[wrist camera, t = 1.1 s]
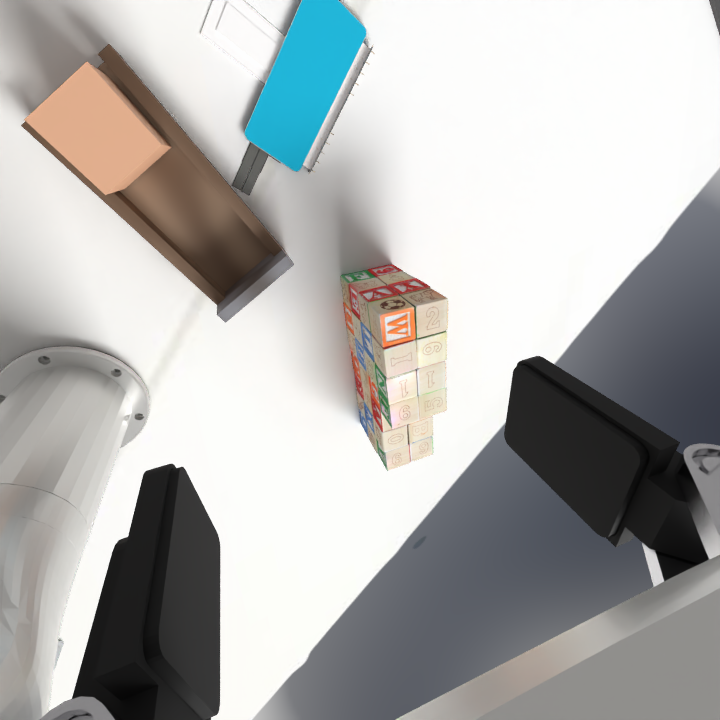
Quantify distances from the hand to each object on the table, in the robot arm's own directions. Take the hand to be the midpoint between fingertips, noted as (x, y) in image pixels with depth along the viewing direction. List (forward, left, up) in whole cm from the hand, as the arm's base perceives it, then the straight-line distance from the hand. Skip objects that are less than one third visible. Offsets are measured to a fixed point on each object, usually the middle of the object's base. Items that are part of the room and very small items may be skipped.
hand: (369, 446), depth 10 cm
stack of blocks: (+1, -18, -30) cm, 35 cm away
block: (-3, +12, -30) cm, 32 cm away
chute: (-3, +7, -30) cm, 31 cm away
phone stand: (+10, +9, -31) cm, 34 cm away
